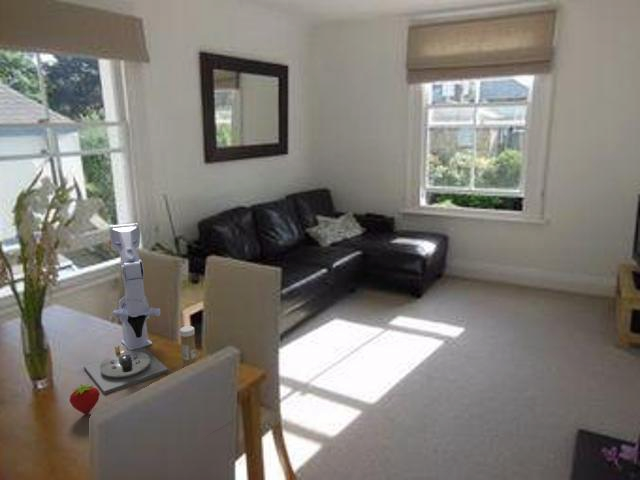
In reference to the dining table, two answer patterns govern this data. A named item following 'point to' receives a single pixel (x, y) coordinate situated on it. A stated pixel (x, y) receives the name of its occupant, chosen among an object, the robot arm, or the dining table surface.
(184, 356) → the sprinkles bottle
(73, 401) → the strawberry
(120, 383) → the charcoal board
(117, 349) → the brass dowel
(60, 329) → the dining table surface
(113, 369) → the flange plate
